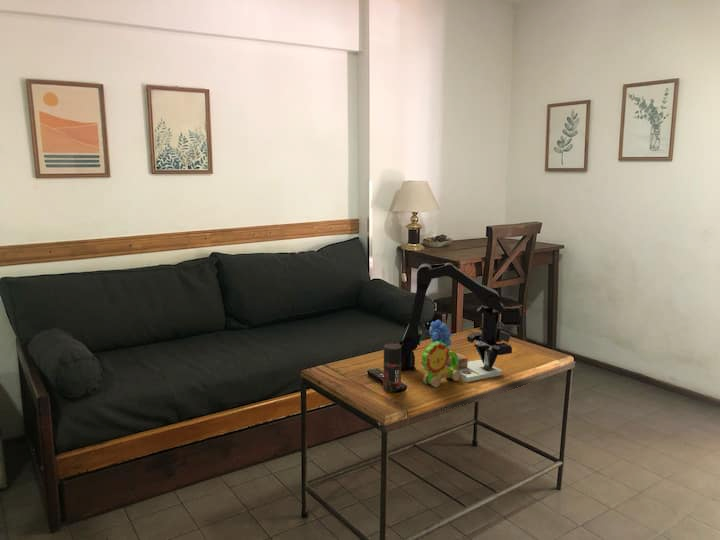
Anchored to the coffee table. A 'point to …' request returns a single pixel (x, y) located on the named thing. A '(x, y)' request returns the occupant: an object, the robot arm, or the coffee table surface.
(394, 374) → the deodorant
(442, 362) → the toy lion
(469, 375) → the board
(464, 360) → the brown wooden block
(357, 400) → the coffee table surface
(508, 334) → the robot arm
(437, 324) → the grapes
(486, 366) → the pin
